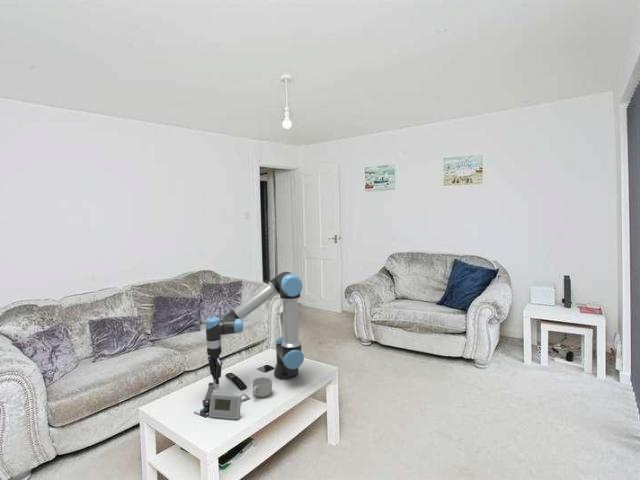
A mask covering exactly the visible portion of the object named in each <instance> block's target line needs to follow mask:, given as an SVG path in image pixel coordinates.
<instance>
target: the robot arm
mask: <svg viewBox="0 0 640 480" xmlns="http://www.w3.org/2000/svg"><path fill="white" fill-rule="evenodd" d="M302 289H303V282H302V279H301V278H300V277H299V276H298V275H296V274H294V273H292V272H290V271H282V272H281V273H278V275H276V276H275V277H273V278H272V279H271V280H269V282H268V284H267V285H264V287H263V288H262V289H260V290H259V291H257V292H256V293H254V294H253V295H252V296H250V297H249V298H248V299H246V300H245V301H244V302H242V303H241V304H239V305H238V306H237V307H236V308H234V309H233V310H231V311H229V312H226V313H224V314H223V316H222V320H220V318H219V317H214V316H213V317H209V318H207V319H206V320H205V338H206V343H205V344H206V354H207V355H208V356H207V361H208V364H209V372H210V375H211V377H212V383H213V391H216V390H219V389H221V388H220V378H222V366H223V361H221V360H220V359H221V358H220V355H221V354H222V350H223V349H222V336H225V335H226V336H227V335H233V334H239V333H242V332H243V331H244V324H243V320H244V319H245V318H246V317H247V316H249V315H250V314H251V313H253V312H254V311H255V310H257V309H258V308H260V307H261V306H262V305H263V304H265V303H266V302H268V301H269V300H270V299H271V298H273V297H275V296H276V295H279V298H280V299H281V300H282V322H283V337H278V338H276V340H275V350H276V351H275V353H276V364H275V367H274V372H273V377H275V378H276V379H278V380H282V379H283V380H284V379H287V380H292V379H291V378H293V379H295V378H297V377H298V376H299V375H298V374H299V368H300V366H302V365H303V363H304V359H305V356H304V353H303V352H302V342H301V341H300V337H299V336H300V335H299V299H300V298H301V291H302ZM297 375H298V376H297ZM296 376H297V377H296ZM294 377H295V378H294ZM283 380H282V381H283Z"/></svg>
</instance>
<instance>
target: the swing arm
mask: <svg viewBox="0 0 640 480" xmlns="http://www.w3.org/2000/svg"><path fill="white" fill-rule="evenodd" d="M212 393H214V389H213V382H209V383H208V387H207V391H206V394H205V397H204V399H203V400H202V406H203V407H204V406H205V407H206V406H210V401H211V394H212Z"/></svg>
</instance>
